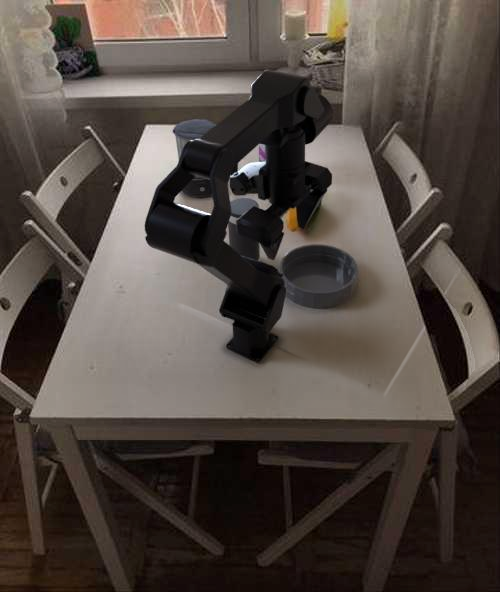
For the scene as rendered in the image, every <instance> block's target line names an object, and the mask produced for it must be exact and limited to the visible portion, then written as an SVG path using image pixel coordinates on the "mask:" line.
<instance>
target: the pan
mask: <svg viewBox="0 0 500 592" xmlns="http://www.w3.org/2000/svg"><path fill="white" fill-rule="evenodd" d="M279 272H280V273H283V276H282V278H283V280H284V283H285V285H284V287H286V295H285V298H287V299H289V300H290V301H291V302H293V303H294V304H297V305H300V306H302V307H305V308H310V309H329V308H334V307H338V306H341V305H343V304H344V303H346V302H347V301H348V300H350V299H351V298H352V297H353V295H354V294H355V293H356V289H357V284H358V275H359V267H358V263H357V261H356V260H355V258H353V256H351V255H350V254H349V252H347V251H345V250H343V249H342V248H339V247H336V246H334V245H329V244H321V243H320V244H319V243H318V244H315V243H313V244H312V243H311V244H305V245H301V246H298V247H295V248H293V249H291V250H290V251H287V252H286V253H285V255H284V256H283V257H282V258H281V260H280V263H279Z"/></svg>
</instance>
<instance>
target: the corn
mask: <svg viewBox="0 0 500 592" xmlns="http://www.w3.org/2000/svg"><path fill="white" fill-rule="evenodd" d="M322 202H323V198H322V199H321V201H320V203H319V204H318V206H317V208H316V209H315V211H314V213H313V215H312V217H311V219H310V223H309V225H308V227H307V229H306V233H309V232H310V230H311V229H312V227H313V225H314V223H315V221H316V220H317V217H318V216H319V213H320V209H321V206H322ZM285 215H286V216H285V217H286V228H287V229H288V230H289V231H290V232H292V233H295V232H297V231H299V230H301V228H299V227H298V223H297V215H296V207H295V208H294V209H292V208H291V209H290V210H289V211H288V212H287V213H286V214H285Z"/></svg>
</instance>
